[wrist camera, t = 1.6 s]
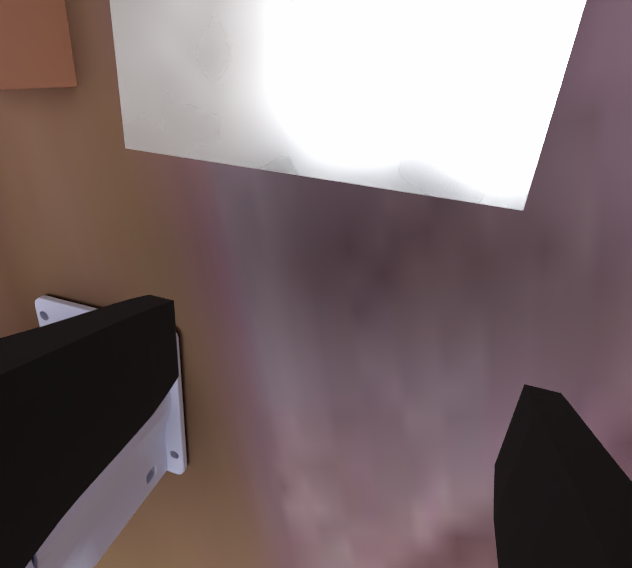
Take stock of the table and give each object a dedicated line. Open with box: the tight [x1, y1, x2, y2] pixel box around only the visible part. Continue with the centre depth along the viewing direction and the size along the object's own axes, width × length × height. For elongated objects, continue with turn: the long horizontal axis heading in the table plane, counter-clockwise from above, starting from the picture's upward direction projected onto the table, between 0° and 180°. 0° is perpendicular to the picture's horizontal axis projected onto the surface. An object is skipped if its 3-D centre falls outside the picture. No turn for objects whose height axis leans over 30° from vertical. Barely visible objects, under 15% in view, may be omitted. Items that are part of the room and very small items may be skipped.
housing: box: [110, 0, 586, 210], centre depth 11 cm, size 7×10×6 cm
